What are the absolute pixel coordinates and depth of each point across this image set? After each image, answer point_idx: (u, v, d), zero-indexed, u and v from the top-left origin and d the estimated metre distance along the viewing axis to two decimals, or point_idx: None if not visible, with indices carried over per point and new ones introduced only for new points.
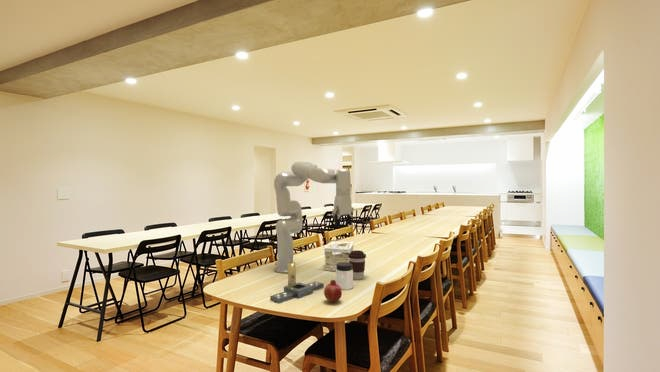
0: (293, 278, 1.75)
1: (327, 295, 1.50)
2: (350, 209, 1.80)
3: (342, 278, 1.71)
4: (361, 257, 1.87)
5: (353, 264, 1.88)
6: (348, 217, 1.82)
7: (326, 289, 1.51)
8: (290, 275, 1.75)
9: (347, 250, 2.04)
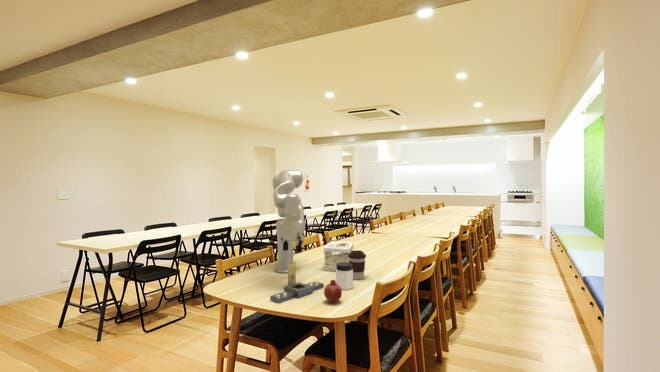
0: (293, 278, 1.75)
1: (327, 295, 1.50)
2: None
3: (342, 278, 1.71)
4: (361, 257, 1.87)
5: (353, 264, 1.88)
6: (286, 243, 1.79)
7: (326, 289, 1.51)
8: (290, 275, 1.75)
9: (347, 250, 2.04)
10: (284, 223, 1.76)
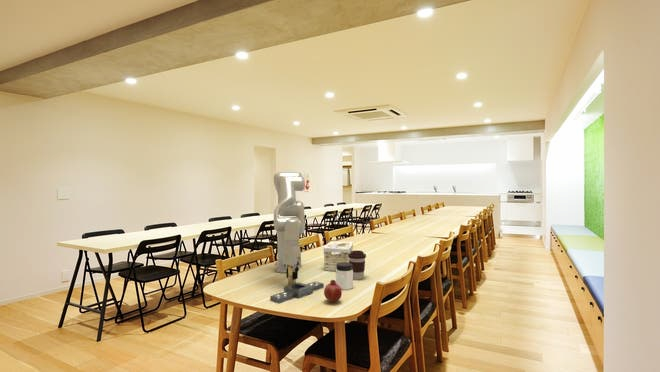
0: None
1: (327, 295, 1.50)
2: None
3: (342, 278, 1.71)
4: (361, 257, 1.87)
5: (353, 264, 1.88)
6: None
7: (326, 289, 1.51)
8: (290, 275, 1.75)
9: (346, 250, 2.04)
10: (284, 248, 1.76)
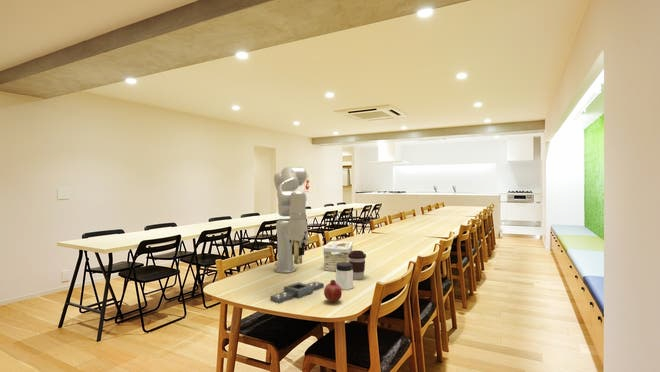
0: None
1: (327, 295, 1.50)
2: None
3: (342, 278, 1.71)
4: (361, 257, 1.87)
5: (353, 264, 1.88)
6: None
7: (326, 289, 1.51)
8: (296, 251, 1.63)
9: (346, 250, 2.04)
10: (290, 222, 1.65)
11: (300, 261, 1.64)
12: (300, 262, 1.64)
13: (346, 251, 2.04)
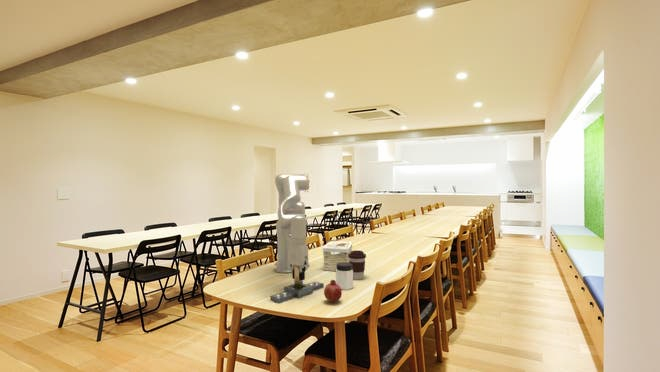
0: None
1: (327, 295, 1.50)
2: None
3: (342, 278, 1.71)
4: (361, 257, 1.87)
5: (353, 264, 1.88)
6: None
7: (326, 289, 1.51)
8: (297, 276, 1.63)
9: (346, 250, 2.04)
10: (290, 246, 1.65)
11: (301, 286, 1.63)
12: (301, 286, 1.63)
13: (346, 251, 2.04)
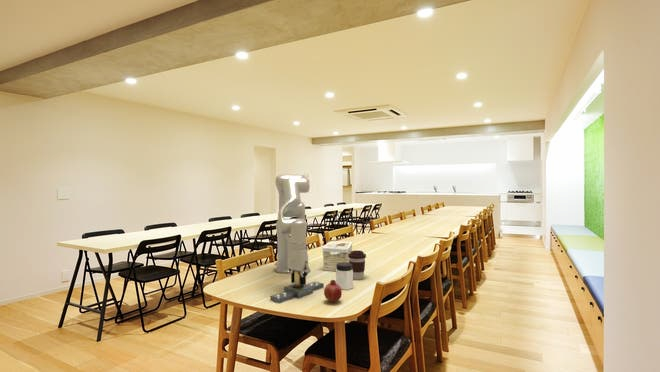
0: (300, 285, 1.63)
1: (327, 295, 1.50)
2: None
3: (342, 278, 1.71)
4: (361, 257, 1.87)
5: (353, 264, 1.88)
6: None
7: (326, 289, 1.51)
8: (296, 282, 1.63)
9: (345, 250, 2.04)
10: (290, 251, 1.65)
11: None
12: None
13: (345, 251, 2.04)
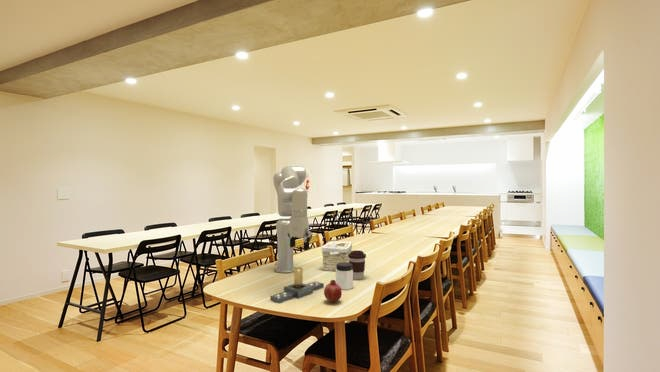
0: (300, 285, 1.63)
1: (327, 295, 1.50)
2: None
3: (342, 278, 1.71)
4: (361, 257, 1.87)
5: (353, 264, 1.88)
6: (293, 239, 1.72)
7: (326, 289, 1.51)
8: (296, 282, 1.63)
9: (344, 250, 2.04)
10: (291, 219, 1.68)
11: None
12: None
13: (344, 251, 2.04)
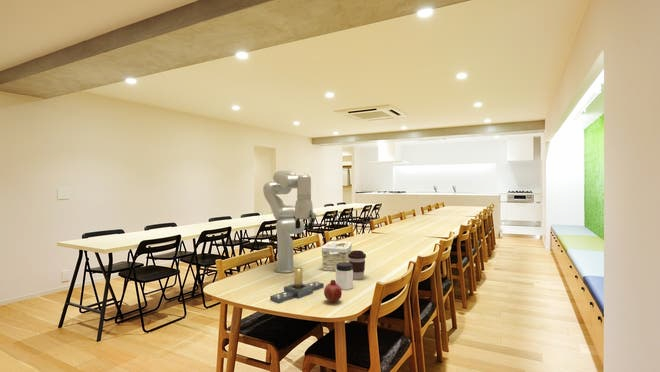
0: (300, 285, 1.63)
1: (327, 295, 1.50)
2: None
3: (342, 278, 1.71)
4: (361, 257, 1.87)
5: (353, 264, 1.88)
6: (298, 221, 1.89)
7: (326, 289, 1.51)
8: (296, 282, 1.63)
9: (344, 250, 2.04)
10: (297, 202, 1.86)
11: None
12: None
13: (344, 251, 2.04)
